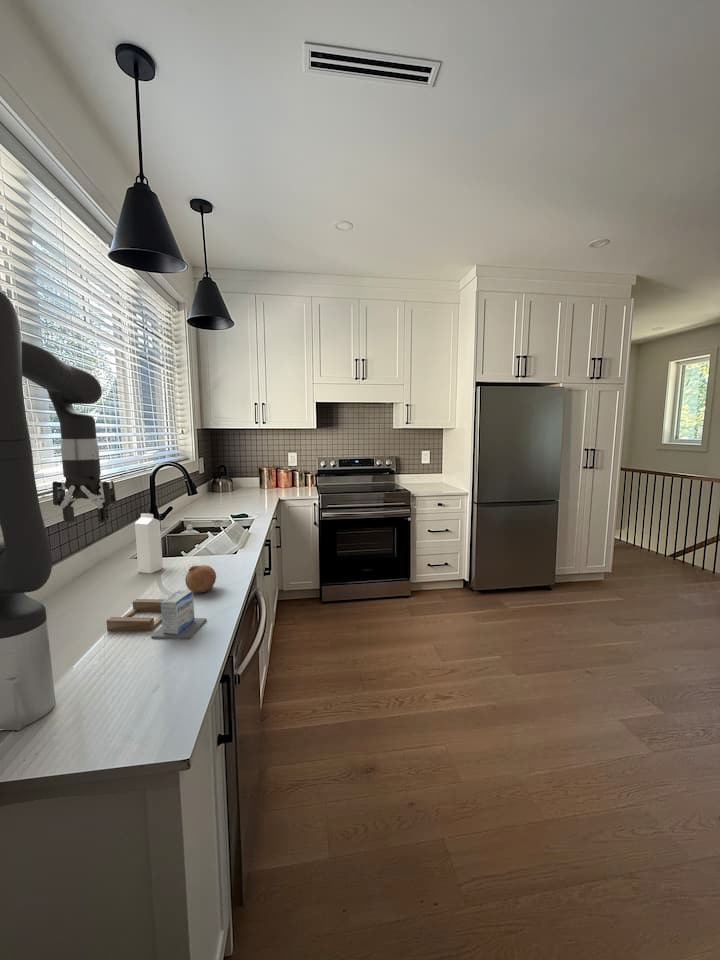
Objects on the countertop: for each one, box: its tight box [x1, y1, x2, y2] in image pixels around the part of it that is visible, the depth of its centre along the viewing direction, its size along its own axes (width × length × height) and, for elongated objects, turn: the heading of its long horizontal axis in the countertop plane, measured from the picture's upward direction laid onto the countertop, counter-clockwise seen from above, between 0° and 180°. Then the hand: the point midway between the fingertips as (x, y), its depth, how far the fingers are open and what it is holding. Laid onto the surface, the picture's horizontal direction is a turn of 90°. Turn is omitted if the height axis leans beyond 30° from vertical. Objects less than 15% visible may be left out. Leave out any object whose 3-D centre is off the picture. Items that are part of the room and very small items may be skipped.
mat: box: [150, 617, 207, 640], centre depth 105 cm, size 10×10×1 cm
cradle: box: [106, 598, 166, 633], centre depth 110 cm, size 13×12×3 cm
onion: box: [184, 564, 217, 594], centre depth 130 cm, size 10×9×10 cm
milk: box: [134, 512, 164, 574], centre depth 149 cm, size 6×6×22 cm
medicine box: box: [160, 589, 196, 634], centre depth 105 cm, size 8×4×9 cm, turn 171°
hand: (86, 522), depth 98 cm, fingers open, 8 cm apart
